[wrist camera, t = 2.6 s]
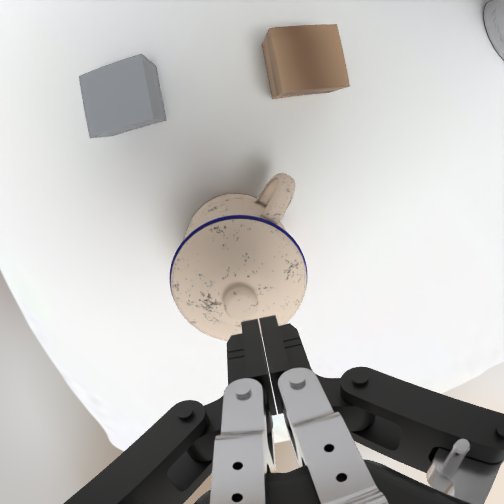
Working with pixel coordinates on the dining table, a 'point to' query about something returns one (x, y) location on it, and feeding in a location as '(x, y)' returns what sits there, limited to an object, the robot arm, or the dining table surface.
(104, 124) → the slate-grey block
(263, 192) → the teacup with lid
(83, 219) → the dining table surface
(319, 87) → the walnut block
